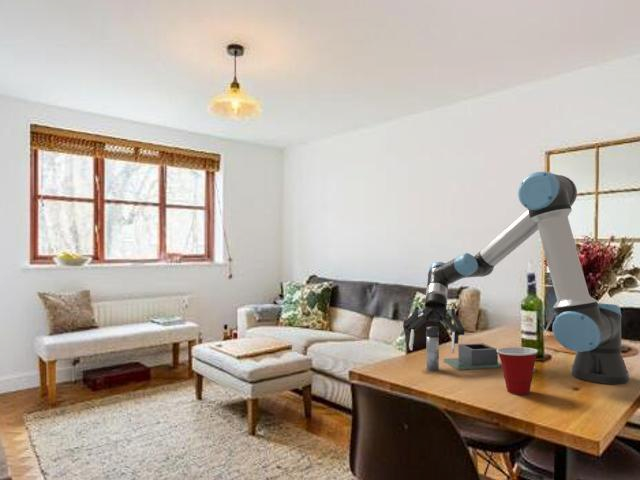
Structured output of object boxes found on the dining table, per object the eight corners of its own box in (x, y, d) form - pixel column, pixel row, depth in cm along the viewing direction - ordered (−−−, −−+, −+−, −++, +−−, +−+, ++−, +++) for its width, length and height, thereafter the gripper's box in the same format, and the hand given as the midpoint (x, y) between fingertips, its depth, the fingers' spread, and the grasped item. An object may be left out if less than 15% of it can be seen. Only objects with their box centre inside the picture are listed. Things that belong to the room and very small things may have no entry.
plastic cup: (506, 383, 135) (506, 343, 135) (544, 391, 127) (544, 348, 128) (489, 391, 128) (489, 348, 128) (528, 400, 120) (528, 355, 120)
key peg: (440, 370, 149) (440, 328, 150) (429, 371, 149) (428, 328, 149) (435, 367, 153) (435, 326, 154) (424, 368, 153) (424, 326, 153)
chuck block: (502, 367, 153) (502, 349, 153) (458, 369, 150) (457, 351, 150) (485, 359, 164) (485, 342, 164) (443, 361, 161) (443, 344, 161)
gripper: (473, 306, 162) (471, 358, 148) (403, 303, 171) (395, 352, 157) (472, 293, 157) (470, 345, 143) (400, 291, 166) (392, 340, 152)
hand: (431, 349), depth 150 cm, fingers open, 13 cm apart
